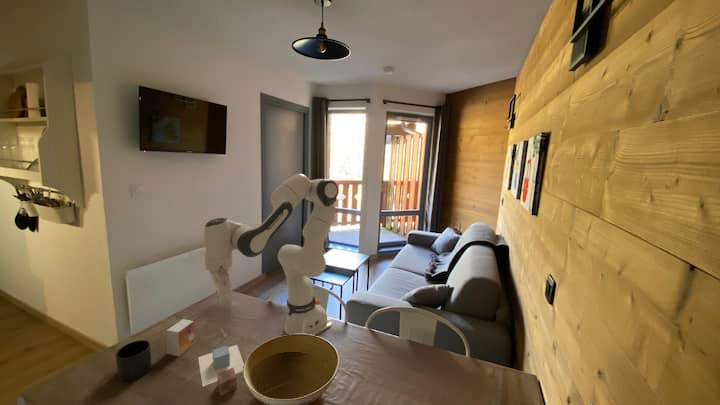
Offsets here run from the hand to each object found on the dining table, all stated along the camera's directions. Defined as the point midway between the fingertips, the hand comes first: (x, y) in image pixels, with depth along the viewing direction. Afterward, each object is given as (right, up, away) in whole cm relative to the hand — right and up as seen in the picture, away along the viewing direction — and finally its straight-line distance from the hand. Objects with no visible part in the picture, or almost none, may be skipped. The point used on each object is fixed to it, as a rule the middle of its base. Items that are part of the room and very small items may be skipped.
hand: (220, 296), depth 101 cm
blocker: (+7, -28, -9) cm, 31 cm away
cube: (0, -26, +1) cm, 26 cm away
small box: (-20, -24, +8) cm, 32 cm away
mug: (-30, -25, -4) cm, 39 cm away
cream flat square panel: (0, -26, +1) cm, 26 cm away
